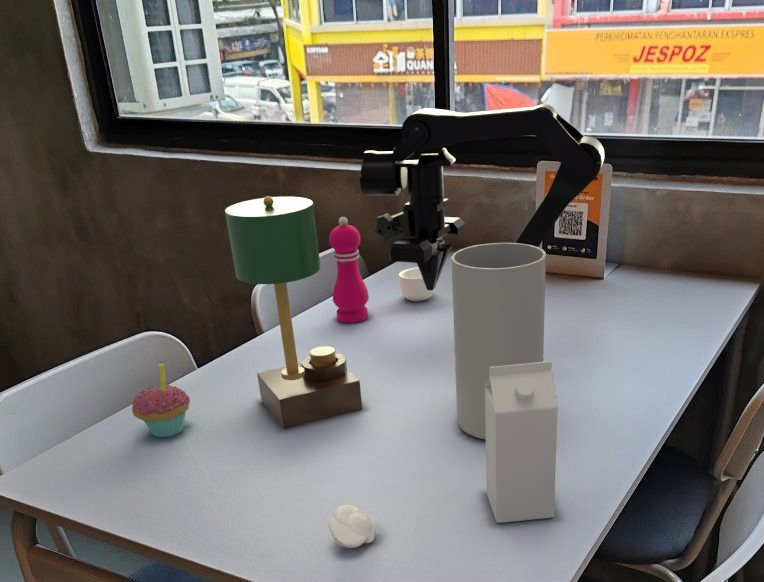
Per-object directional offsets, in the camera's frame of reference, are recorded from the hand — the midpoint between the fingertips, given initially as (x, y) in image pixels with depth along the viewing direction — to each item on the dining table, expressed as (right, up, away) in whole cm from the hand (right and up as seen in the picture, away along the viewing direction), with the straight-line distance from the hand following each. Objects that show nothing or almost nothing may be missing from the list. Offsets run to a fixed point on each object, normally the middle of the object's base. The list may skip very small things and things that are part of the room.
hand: (430, 289), depth 141 cm
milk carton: (+10, -37, -38) cm, 54 cm away
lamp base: (-20, -21, -9) cm, 30 cm away
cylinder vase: (+10, -25, -18) cm, 32 cm away
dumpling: (-11, -41, -43) cm, 60 cm away
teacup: (-1, +7, +35) cm, 36 cm away
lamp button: (-17, -14, -11) cm, 25 cm away
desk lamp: (-21, -17, -16) cm, 31 cm away
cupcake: (-41, -25, -13) cm, 50 cm away
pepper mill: (-15, +1, +26) cm, 30 cm away
